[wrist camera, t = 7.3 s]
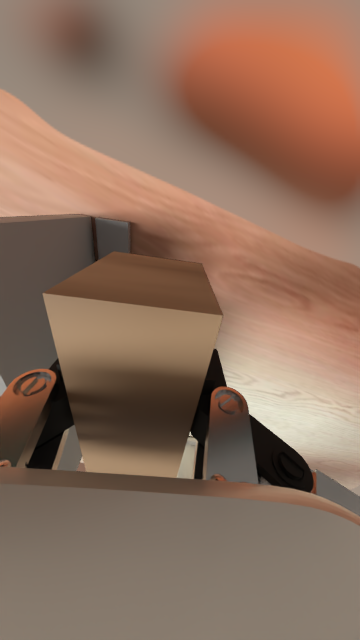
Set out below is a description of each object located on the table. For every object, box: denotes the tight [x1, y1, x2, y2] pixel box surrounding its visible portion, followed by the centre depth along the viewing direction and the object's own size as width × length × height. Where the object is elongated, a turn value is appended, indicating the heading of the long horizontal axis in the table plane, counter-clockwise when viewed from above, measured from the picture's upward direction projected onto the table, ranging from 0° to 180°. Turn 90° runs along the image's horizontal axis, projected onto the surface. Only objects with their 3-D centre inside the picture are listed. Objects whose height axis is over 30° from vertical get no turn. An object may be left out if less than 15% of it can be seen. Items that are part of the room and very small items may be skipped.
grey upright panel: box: [0, 214, 130, 471], centre depth 25 cm, size 34×7×18 cm, turn 172°
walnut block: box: [42, 251, 223, 478], centre depth 9 cm, size 9×4×5 cm, turn 172°
